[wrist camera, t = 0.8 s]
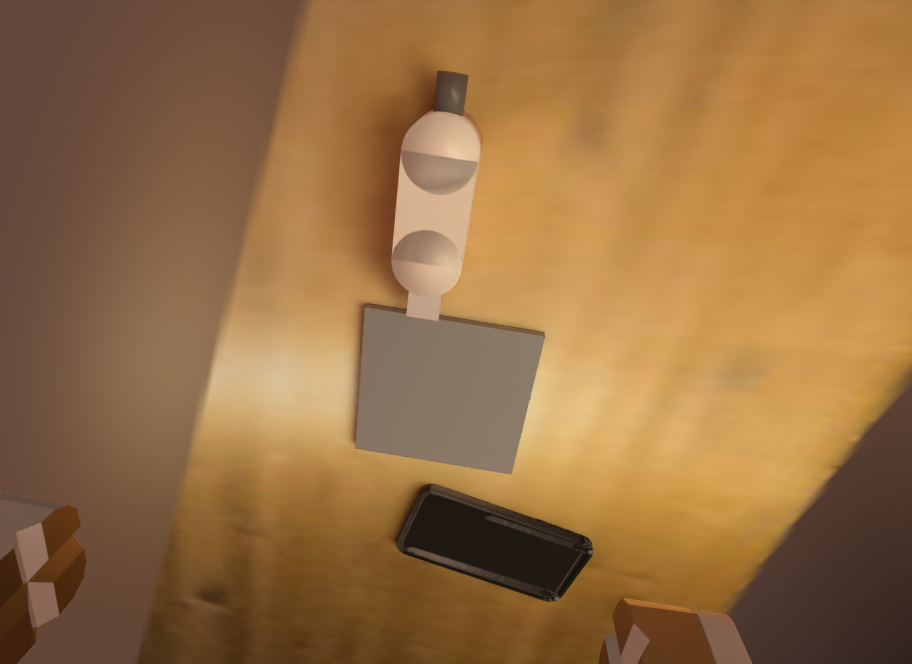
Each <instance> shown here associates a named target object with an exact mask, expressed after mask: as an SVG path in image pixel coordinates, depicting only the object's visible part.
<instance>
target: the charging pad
mask: <svg viewBox="0 0 912 664" xmlns="http://www.w3.org/2000/svg"><path fill="white" fill-rule="evenodd" d="M406 313H407V310H404V309H398V308H392V307H386V306H379V305H373V304H366V306H365V311H364V326H363V340H362V355H361V370H360V385H359V399H358V414H357V429H356V443H355V448H356V449H362V450H368V451H374V452H380V453H386V454H392V455H398V456H404V457H410V458H416V459H422V460H428V461H434V462H440V463H446V464H452V465H458V466H464V467H470V468H476V469H482V470H488V471H494V472H500V473H506V474H512V470H513V466H514V461H515V457H516V453H517V449H518V445H519V441H520V437H521V433H522V429H523V424H524V420H525V416H526V412H527V408H528V404H529V400H530V396H531V392H532V387H533V383H534V379H535V375H536V371H537V367H538V363H539V359H540V355H541V350H542V346H543V342H544V338H545V334H544V332H539V331H533V330H526V329H520V328H514V327H508V326H502V325H496V324H490V323H484V322H477V321H471V320H465V319H459V318H453V317H447V316H441V315H439V319H438V321H434V320H428V319H422V318H416V317H409V316H406Z"/></svg>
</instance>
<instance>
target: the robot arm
mask: <svg viewBox="0 0 912 664" xmlns="http://www.w3.org/2000/svg"><path fill="white" fill-rule="evenodd" d="M80 526H81V525H80V520H79V516H78V511H77V508H74V507H71V506H69V505H65V504H60V503H55V502H50V501H44V500H40V499H35V498H29V497H25V496H20V495H15V494H9V493H1V492H0V664H18V663H19V662H20V661H21V659H22V658H23V657H24V656H25V655H26V654H27V652H28V651H29V650H30V649H31V648H32V646H34V644H35V642H36V632H37V627H38V626H40V625H42V624H44V623H46V622H48V621H50V620H51V619H53V618H55V617H57V616H59V615H60V614H61V613H62V611H63V610H64V609H65V608H66V606H67V605H68V604H69V603H70V602H71V600H72V599H73V598H74V596H75V594H76V592H77V590H78V588H79V586H80V584H81V582H82V580H83V578H84V572H85V566H86V557H85V549H84V548H83V547H82V546H81V544H79V542H78V541H77V540H76V539H75V538H74V537H73V534H74V533H75V532H76V531H77V530H78V528H79V527H80ZM613 621H614V626H615V631H614V632H613V633H611V634H610V635H608V636H606V637H605V639H604V642H603V645H602V649H601V652H600V658H599V664H752V663H751V660H750V658H749V656H748V654H747V651H746V649H745V647H744V645H743V643H742V640H741V638H740V636H739V634H738V631H737V629H736V627H735V624H734V622H733V621H732V620H731V619H730V618H729V617H728V616H727V615H726V614H720V613H714V612H707V611H701V610H695V609H690V610H689V609H688V608H683V607H677V606H670V605H664V604H658V603H651V602H645V601H639V600H632V599H626V598H622V599H621V600H620V601H619V602H618V603H617V605H616V608H615V611H614V613H613Z"/></svg>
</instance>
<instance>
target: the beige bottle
mask: <svg viewBox="0 0 912 664" xmlns="http://www.w3.org/2000/svg"><path fill="white" fill-rule="evenodd" d="M467 83H468V75H466V74H461V73H455V72H448V71H438V72H437V81H436V90H435V99H434V107H433V109H432V110H430V111H429V112H427V113H426V114H425V115H423V116H422V117H421V118H420V119H419V120H418V121H417V122H416V123H414V124H413V125H412V126H411V127H410V129H409V130H408V131H407V133H406V135H405V137H404V139H403V143H402V148H401V157H400V169H399V180H398V191H397V202H396V214H395V225H394V236H393V247H392V259H391V264H392V270H393V273H394V275H395V277H396V279H397V281H398V282H399V283H400V284H401V285H402V287H404V288H405V289H406V290H408V291H409V295H408V304H407V313H406V316H409V317H416V318H422V319H428V320H434V321H438V319H439V315H440V309H441V301H442V294H444V293H446V292H447V291H449V290H450V289H451V288H452V287H453V286H454V285H455V284H456V283H457V281H458V279H459V277H460V274H461V270H462V265H463V261H464V256H465V251H466V246H467V240H468V233H469V227H470V220H471V214H472V207H473V201H474V195H475V188H476V182H477V175H478V169H479V162H480V156H481V149H482V137H481V132H480V129H479V127H478V125H477V123H476V122H475V120H474V119H473V118H472V117H471V116H470V115H469V114H468V113H467V112H465V111H464V105H465V97H466V90H467Z"/></svg>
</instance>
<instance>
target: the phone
mask: <svg viewBox="0 0 912 664" xmlns="http://www.w3.org/2000/svg"><path fill="white" fill-rule="evenodd" d="M397 548H398V549H399V551H400V552H402V553H403V554H406V555H408V556H411V557H414V558H417V559H420V560H423V561H426V562H429V563H432V564H435V565H438V566H441V567H444V568H447V569H450V570H453V571H456V572H459V573H462V574H465V575H468V576H471V577H474V578H477V579H480V580H483V581H486V582H489V583H492V584H495V585H498V586H501V587H504V588H507V589H510V590H513V591H516V592H519V593H522V594H525V595H528V596H531V597H534V598H537V599H540V600H543V601H548V602H552V601H557V600H559V599H560V598H561V597H562V596H563V595H564V593H565V592H566V591H567V589H568V588H569V587H570V585H571V584H572V583H573V581H574V580H575V578H576V577H577V576H578V574H579V573H580V572H581V570H582V569H583V568H584V566H585V565H586V563H587V562H588V561H589V559H590V558H591V557H592V555H593V548H592V543H591V541H590V539H588V538H587V537H585V536H583V535H580V534H577V533H574V532H572V531H569V530H566V529H563V528H560V527H557V526H554V525H552V524H549V523H546V522H543V521H540V520H537V519H534V518H531V517H529V516H526V515H523V514H520V513H517V512H514V511H511V510H509V509H506V508H503V507H500V506H497V505H494V504H491V503H489V502H486V501H483V500H480V499H477V498H474V497H471V496H469V495H466V494H463V493H460V492H457V491H454V490H451V489H449V488H446V487H443V486H440V485H436V484H428V485H425V486H423V487H422V488H421V489H420V491H419V493H418V495H417V497H416V499H415V501H414V503H413V506H412V508H411V510H410V512H409V514H408V516H407V518H406V520H405V522H404V525H403V527H402V529H401V531H400V533H399V536H398V541H397Z"/></svg>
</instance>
